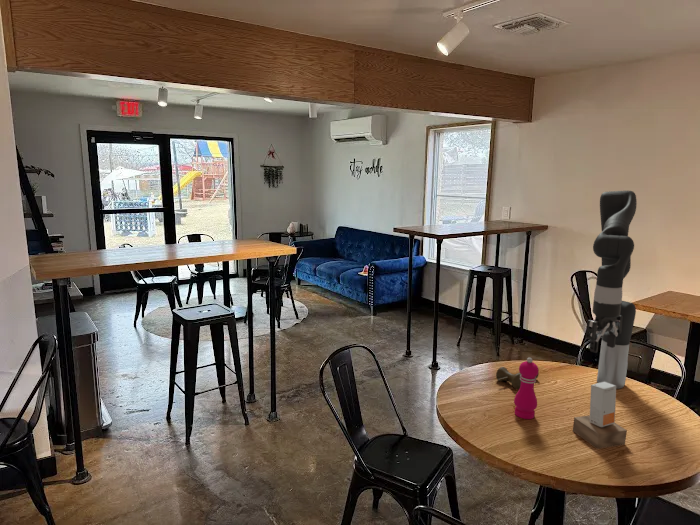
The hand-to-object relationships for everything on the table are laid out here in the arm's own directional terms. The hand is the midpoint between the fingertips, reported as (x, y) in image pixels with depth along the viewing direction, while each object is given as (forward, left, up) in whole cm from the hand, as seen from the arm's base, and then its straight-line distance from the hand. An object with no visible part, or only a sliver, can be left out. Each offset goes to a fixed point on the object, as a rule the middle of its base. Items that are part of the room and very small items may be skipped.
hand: (602, 349), depth 146 cm
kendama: (-1, -33, -26) cm, 42 cm away
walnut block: (+7, +7, -25) cm, 27 cm away
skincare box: (+6, +7, -20) cm, 22 cm away
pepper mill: (+16, -13, -25) cm, 33 cm away
